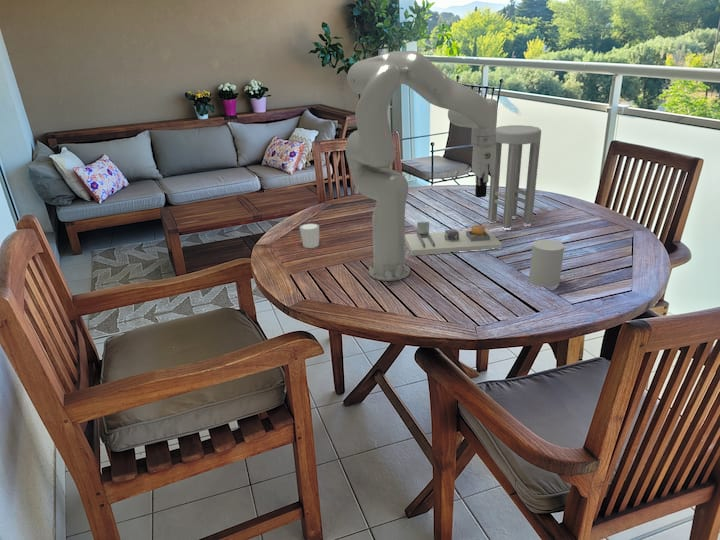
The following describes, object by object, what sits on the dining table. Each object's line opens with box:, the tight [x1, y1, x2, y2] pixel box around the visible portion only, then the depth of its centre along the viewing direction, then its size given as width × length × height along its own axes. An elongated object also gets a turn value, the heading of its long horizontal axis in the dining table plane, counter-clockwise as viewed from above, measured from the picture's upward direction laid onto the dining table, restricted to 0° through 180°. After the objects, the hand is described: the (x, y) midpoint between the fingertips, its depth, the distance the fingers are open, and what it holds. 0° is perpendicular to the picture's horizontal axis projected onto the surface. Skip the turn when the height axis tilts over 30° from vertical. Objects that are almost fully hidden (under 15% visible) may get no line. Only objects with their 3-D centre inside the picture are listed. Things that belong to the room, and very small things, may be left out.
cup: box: [528, 239, 565, 287], centre depth 144 cm, size 8×8×12 cm
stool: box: [487, 124, 542, 228], centre depth 186 cm, size 16×16×35 cm
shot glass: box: [299, 223, 320, 249], centre depth 180 cm, size 7×7×7 cm
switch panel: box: [405, 228, 503, 257], centre depth 176 cm, size 15×30×4 cm, turn 95°
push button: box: [470, 224, 486, 235], centre depth 176 cm, size 4×4×2 cm
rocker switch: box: [444, 229, 459, 237], centre depth 175 cm, size 6×3×2 cm, turn 5°
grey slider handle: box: [416, 221, 430, 238], centre depth 179 cm, size 3×4×5 cm
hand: (480, 196), depth 171 cm, fingers closed
